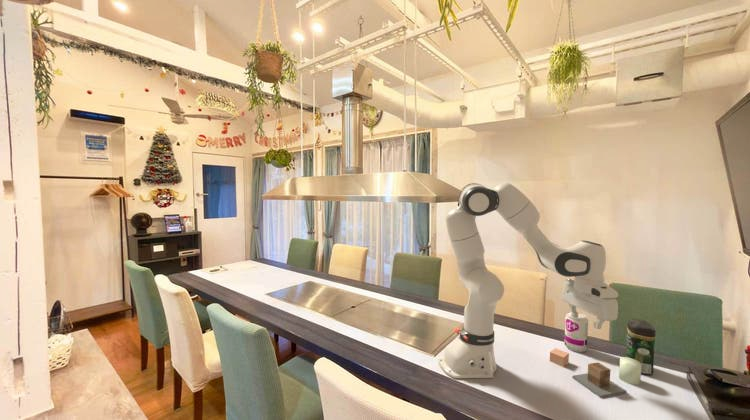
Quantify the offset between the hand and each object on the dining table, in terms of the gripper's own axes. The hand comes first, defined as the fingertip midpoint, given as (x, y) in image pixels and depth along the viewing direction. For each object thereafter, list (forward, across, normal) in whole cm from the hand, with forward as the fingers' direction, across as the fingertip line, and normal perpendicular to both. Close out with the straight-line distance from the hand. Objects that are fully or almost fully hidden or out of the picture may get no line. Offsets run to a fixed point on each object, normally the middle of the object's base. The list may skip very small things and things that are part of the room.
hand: (585, 322), depth 111 cm
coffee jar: (+20, 0, +27) cm, 34 cm away
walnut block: (+20, +5, +2) cm, 21 cm away
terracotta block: (+21, -10, 0) cm, 23 cm away
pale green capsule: (+20, +5, +16) cm, 26 cm away
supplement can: (+21, -18, +16) cm, 32 cm away
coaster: (+21, +5, +2) cm, 22 cm away
